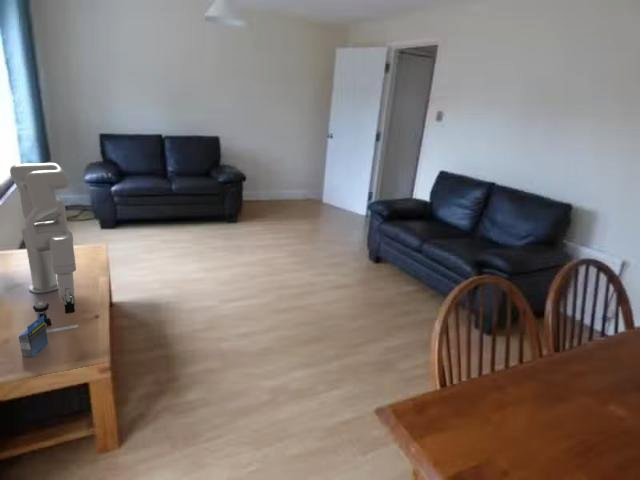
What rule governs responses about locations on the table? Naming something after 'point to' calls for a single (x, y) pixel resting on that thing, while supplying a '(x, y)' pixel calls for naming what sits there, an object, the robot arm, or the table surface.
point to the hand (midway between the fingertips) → (70, 309)
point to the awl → (73, 302)
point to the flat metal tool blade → (61, 328)
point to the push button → (42, 312)
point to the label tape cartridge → (33, 338)
